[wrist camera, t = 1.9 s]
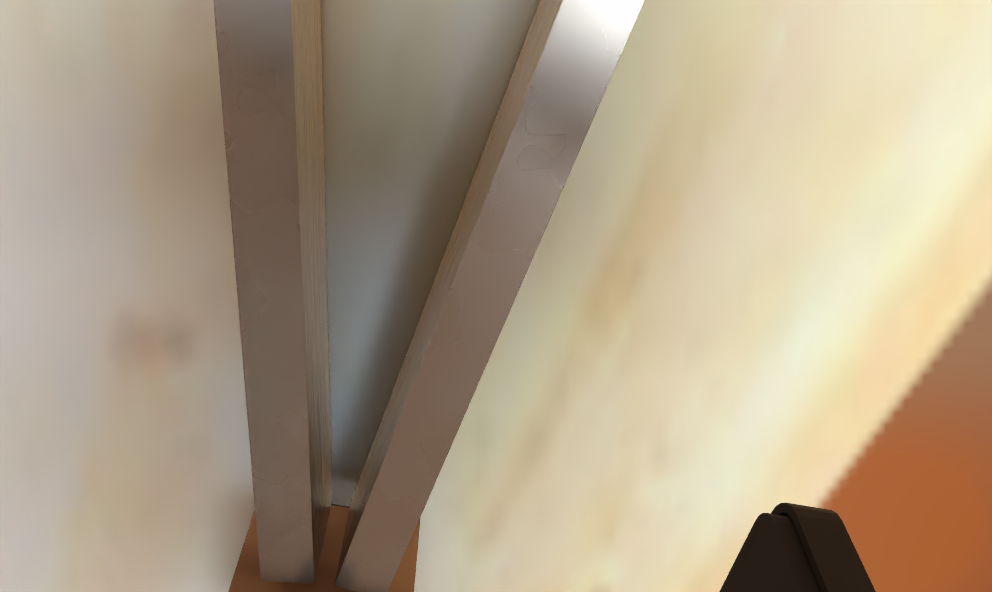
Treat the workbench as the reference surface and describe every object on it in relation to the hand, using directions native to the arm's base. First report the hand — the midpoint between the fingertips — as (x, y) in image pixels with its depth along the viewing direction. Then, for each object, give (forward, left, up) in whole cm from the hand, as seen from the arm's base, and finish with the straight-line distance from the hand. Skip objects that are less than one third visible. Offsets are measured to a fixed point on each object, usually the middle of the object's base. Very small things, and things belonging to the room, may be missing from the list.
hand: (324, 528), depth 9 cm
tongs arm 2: (-2, +2, -13) cm, 13 cm away
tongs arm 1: (-2, -2, -13) cm, 13 cm away
